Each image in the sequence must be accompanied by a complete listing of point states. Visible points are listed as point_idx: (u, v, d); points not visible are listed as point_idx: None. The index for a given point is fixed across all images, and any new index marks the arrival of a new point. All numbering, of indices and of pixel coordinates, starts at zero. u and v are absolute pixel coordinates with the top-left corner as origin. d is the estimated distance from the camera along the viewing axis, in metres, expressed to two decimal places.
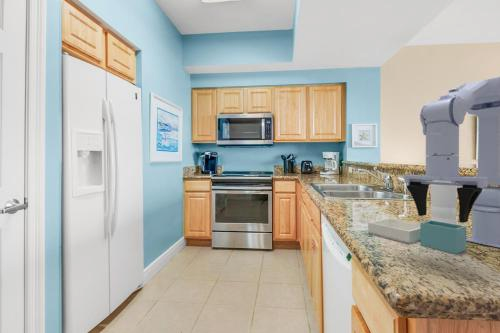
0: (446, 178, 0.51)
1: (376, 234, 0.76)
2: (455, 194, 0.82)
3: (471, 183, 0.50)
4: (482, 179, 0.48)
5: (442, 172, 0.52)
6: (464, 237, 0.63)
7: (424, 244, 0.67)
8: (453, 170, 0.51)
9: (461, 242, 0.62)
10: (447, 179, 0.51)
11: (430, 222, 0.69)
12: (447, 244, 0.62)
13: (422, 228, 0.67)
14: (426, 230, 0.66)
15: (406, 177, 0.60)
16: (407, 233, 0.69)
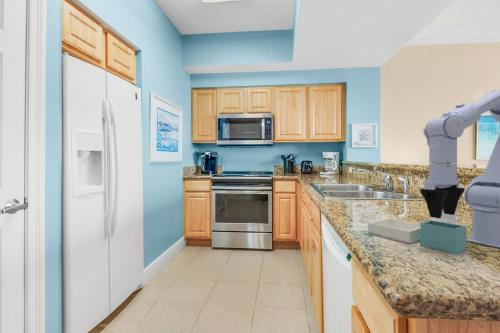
0: (428, 181, 0.66)
1: (376, 234, 0.76)
2: None
3: None
4: None
5: (429, 176, 0.67)
6: (464, 237, 0.63)
7: (424, 244, 0.67)
8: (432, 175, 0.65)
9: (461, 242, 0.62)
10: None
11: (430, 222, 0.69)
12: (447, 244, 0.62)
13: (422, 228, 0.67)
14: (426, 230, 0.66)
15: None
16: (407, 233, 0.69)
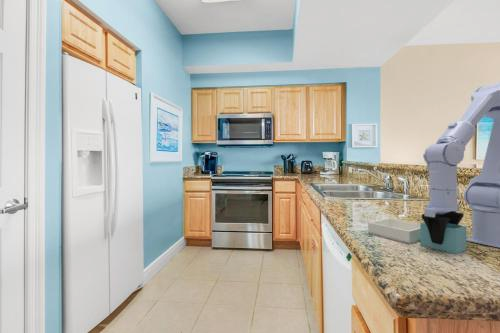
0: (428, 206, 0.67)
1: (376, 234, 0.76)
2: None
3: None
4: None
5: (429, 201, 0.67)
6: (464, 237, 0.63)
7: (424, 244, 0.67)
8: (432, 201, 0.65)
9: (461, 242, 0.62)
10: None
11: None
12: (447, 244, 0.62)
13: (422, 228, 0.67)
14: (426, 230, 0.66)
15: None
16: (407, 233, 0.69)
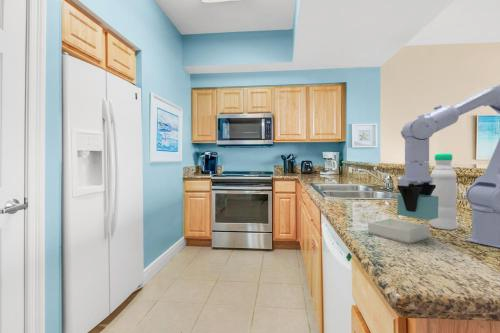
0: (403, 178, 0.72)
1: (376, 234, 0.76)
2: (455, 194, 0.82)
3: None
4: None
5: None
6: (436, 206, 0.68)
7: (400, 214, 0.72)
8: (407, 173, 0.71)
9: (433, 210, 0.68)
10: None
11: None
12: (420, 211, 0.68)
13: (399, 199, 0.72)
14: (402, 200, 0.72)
15: None
16: (407, 233, 0.69)
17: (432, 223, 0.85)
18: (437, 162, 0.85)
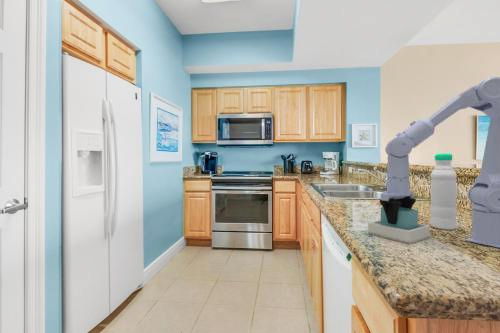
0: (386, 192, 0.77)
1: (376, 234, 0.76)
2: (455, 194, 0.82)
3: None
4: None
5: (387, 188, 0.78)
6: (415, 219, 0.73)
7: None
8: (388, 188, 0.76)
9: (412, 223, 0.73)
10: (386, 193, 0.77)
11: None
12: (401, 224, 0.73)
13: (382, 212, 0.78)
14: None
15: None
16: (407, 233, 0.69)
17: (432, 223, 0.85)
18: (437, 162, 0.85)
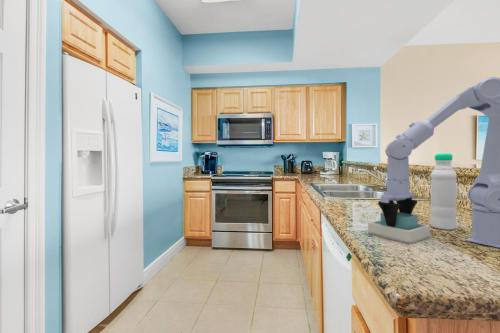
0: (386, 194, 0.77)
1: (376, 234, 0.76)
2: (455, 194, 0.82)
3: None
4: None
5: (387, 190, 0.78)
6: (415, 224, 0.74)
7: None
8: (388, 189, 0.76)
9: (412, 228, 0.73)
10: (386, 195, 0.77)
11: None
12: None
13: (382, 217, 0.78)
14: None
15: None
16: (407, 233, 0.69)
17: (432, 223, 0.85)
18: (437, 162, 0.85)
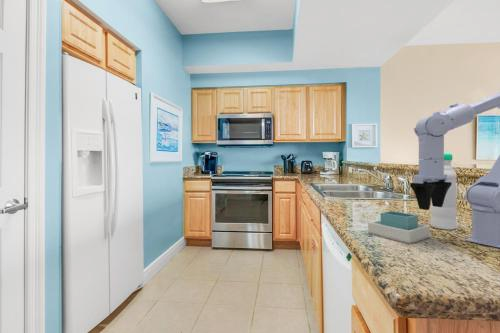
0: (417, 176, 0.71)
1: (376, 234, 0.76)
2: (455, 194, 0.82)
3: None
4: None
5: None
6: (415, 224, 0.74)
7: None
8: (421, 170, 0.70)
9: (412, 228, 0.73)
10: None
11: (390, 212, 0.80)
12: None
13: (382, 217, 0.78)
14: (385, 219, 0.77)
15: None
16: (407, 233, 0.69)
17: (432, 223, 0.85)
18: None
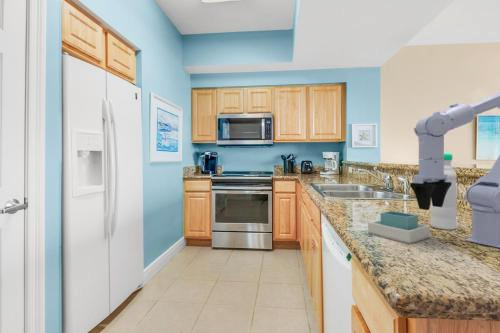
0: (417, 176, 0.71)
1: (376, 234, 0.76)
2: (455, 194, 0.82)
3: None
4: None
5: None
6: (415, 224, 0.74)
7: None
8: (421, 170, 0.70)
9: (412, 228, 0.73)
10: None
11: (390, 212, 0.80)
12: None
13: (382, 217, 0.78)
14: (385, 219, 0.77)
15: None
16: (407, 233, 0.69)
17: (432, 223, 0.85)
18: None
